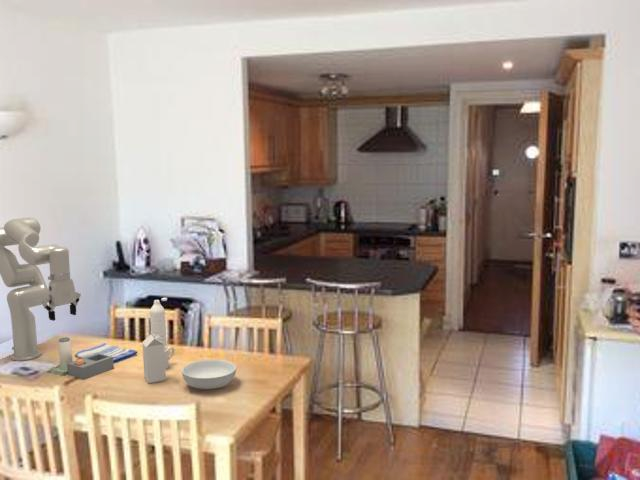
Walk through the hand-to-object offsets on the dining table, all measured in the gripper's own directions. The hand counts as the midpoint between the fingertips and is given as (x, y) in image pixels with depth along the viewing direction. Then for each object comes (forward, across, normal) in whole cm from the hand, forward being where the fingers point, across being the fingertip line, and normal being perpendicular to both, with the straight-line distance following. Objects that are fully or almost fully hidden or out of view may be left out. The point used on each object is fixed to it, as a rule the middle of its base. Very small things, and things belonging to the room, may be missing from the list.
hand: (62, 317), depth 250 cm
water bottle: (+23, +36, -19) cm, 46 cm away
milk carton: (+22, +12, -41) cm, 48 cm away
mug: (+22, +23, -32) cm, 45 cm away
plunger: (+20, -1, -11) cm, 23 cm away
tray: (+23, -1, -1) cm, 23 cm away
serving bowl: (+22, +19, -64) cm, 70 cm away
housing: (+23, +4, -11) cm, 26 cm away
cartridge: (+22, -1, -1) cm, 22 cm away
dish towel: (+24, +20, 0) cm, 31 cm away
